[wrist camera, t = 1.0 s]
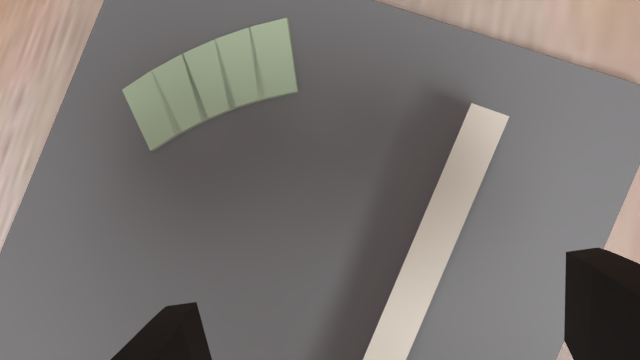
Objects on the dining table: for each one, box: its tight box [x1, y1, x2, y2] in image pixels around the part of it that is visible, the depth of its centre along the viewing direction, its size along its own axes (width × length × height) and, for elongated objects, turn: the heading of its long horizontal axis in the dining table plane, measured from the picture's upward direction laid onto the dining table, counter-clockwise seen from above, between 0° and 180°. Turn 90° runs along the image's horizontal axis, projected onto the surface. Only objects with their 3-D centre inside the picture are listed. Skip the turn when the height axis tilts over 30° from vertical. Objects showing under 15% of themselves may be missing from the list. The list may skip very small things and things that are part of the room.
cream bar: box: [363, 103, 509, 360], centre depth 18 cm, size 16×3×2 cm, turn 157°
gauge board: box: [0, 0, 640, 360], centre depth 21 cm, size 22×20×2 cm
